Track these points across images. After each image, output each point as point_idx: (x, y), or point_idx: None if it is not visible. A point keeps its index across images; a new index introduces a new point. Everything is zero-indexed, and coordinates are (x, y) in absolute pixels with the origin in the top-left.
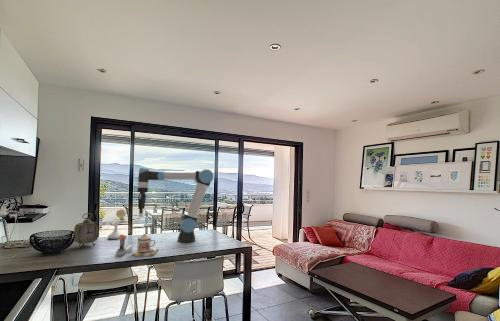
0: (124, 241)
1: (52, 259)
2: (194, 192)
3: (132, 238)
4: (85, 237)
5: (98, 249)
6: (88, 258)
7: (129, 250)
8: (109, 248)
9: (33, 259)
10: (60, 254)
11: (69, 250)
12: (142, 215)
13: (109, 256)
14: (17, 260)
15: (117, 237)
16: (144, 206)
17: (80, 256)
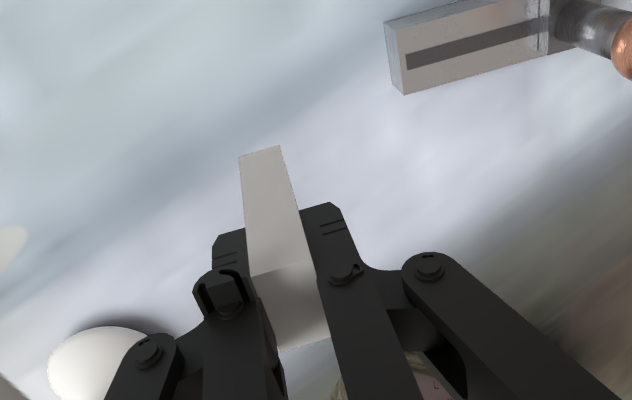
0: (626, 11)
1: (624, 296)
2: None
3: (28, 257)
4: (426, 389)
5: (425, 247)
6: (619, 162)
7: (445, 8)
8: (388, 205)
9: (619, 353)
10: (543, 330)
11: None
12: (277, 164)
13: (582, 70)
14: (628, 382)
15: (138, 334)
16: (144, 357)
17: (578, 228)
